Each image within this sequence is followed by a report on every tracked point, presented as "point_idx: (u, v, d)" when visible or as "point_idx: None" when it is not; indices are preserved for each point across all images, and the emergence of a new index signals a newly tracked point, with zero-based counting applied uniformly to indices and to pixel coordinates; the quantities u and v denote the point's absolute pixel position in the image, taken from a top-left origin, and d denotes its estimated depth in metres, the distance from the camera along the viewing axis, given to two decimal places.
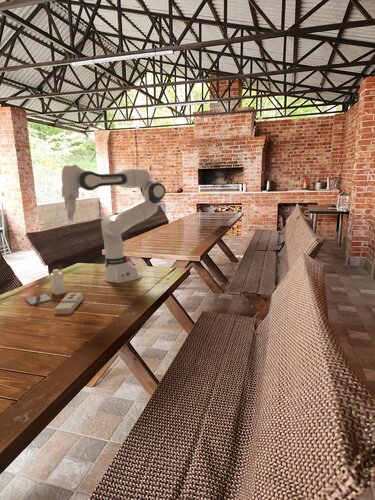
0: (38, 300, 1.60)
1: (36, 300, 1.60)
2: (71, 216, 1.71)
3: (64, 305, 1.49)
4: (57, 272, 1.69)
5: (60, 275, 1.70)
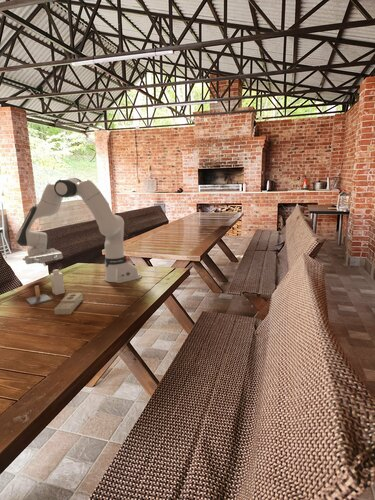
0: (38, 300, 1.60)
1: (36, 300, 1.60)
2: (35, 261, 1.76)
3: (64, 305, 1.48)
4: (57, 272, 1.69)
5: (60, 275, 1.70)
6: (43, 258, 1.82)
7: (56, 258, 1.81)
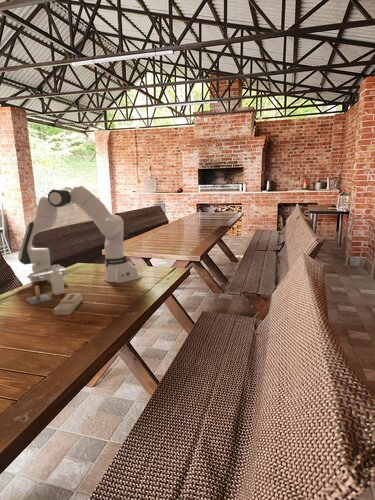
0: (38, 300, 1.60)
1: (36, 300, 1.60)
2: (40, 278, 1.76)
3: (63, 305, 1.48)
4: (57, 272, 1.69)
5: (60, 275, 1.70)
6: (48, 275, 1.81)
7: None
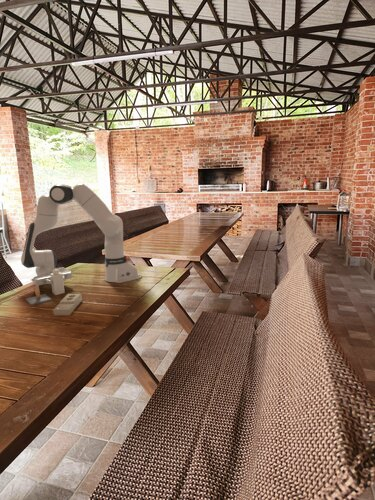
0: (38, 300, 1.60)
1: (36, 300, 1.60)
2: (48, 281, 1.70)
3: (63, 306, 1.47)
4: (57, 272, 1.69)
5: (60, 275, 1.70)
6: None
7: (63, 279, 1.73)
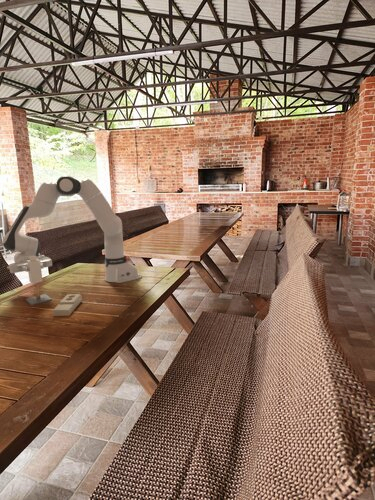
0: (38, 300, 1.60)
1: (36, 300, 1.60)
2: (24, 269, 1.57)
3: (63, 306, 1.47)
4: (34, 259, 1.57)
5: (37, 262, 1.57)
6: None
7: (41, 266, 1.60)
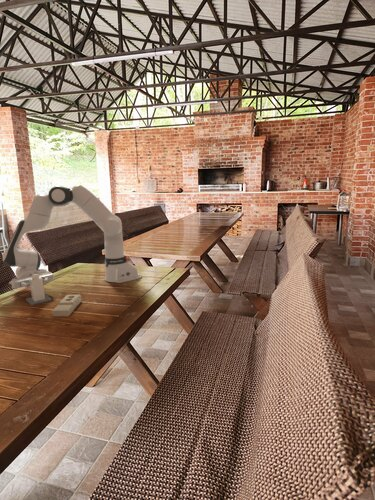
0: None
1: None
2: (23, 285, 1.58)
3: (62, 307, 1.46)
4: (36, 277, 1.59)
5: (40, 280, 1.59)
6: None
7: (46, 281, 1.63)
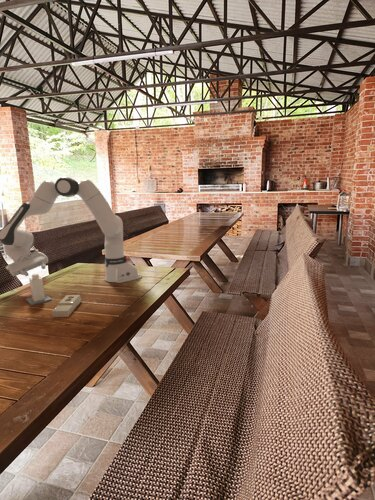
0: None
1: None
2: (23, 273, 1.67)
3: (62, 307, 1.46)
4: (36, 277, 1.59)
5: (40, 280, 1.59)
6: (29, 267, 1.72)
7: (43, 267, 1.73)
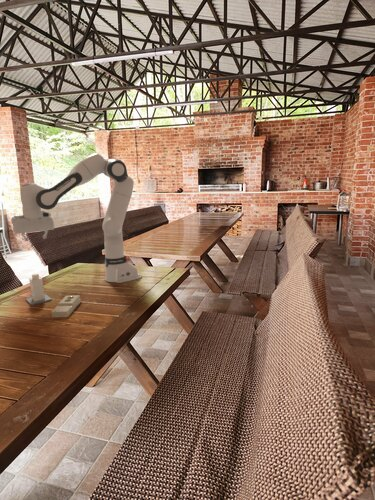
0: None
1: None
2: None
3: (61, 308, 1.45)
4: (36, 277, 1.59)
5: (40, 280, 1.59)
6: None
7: (44, 238, 1.74)
